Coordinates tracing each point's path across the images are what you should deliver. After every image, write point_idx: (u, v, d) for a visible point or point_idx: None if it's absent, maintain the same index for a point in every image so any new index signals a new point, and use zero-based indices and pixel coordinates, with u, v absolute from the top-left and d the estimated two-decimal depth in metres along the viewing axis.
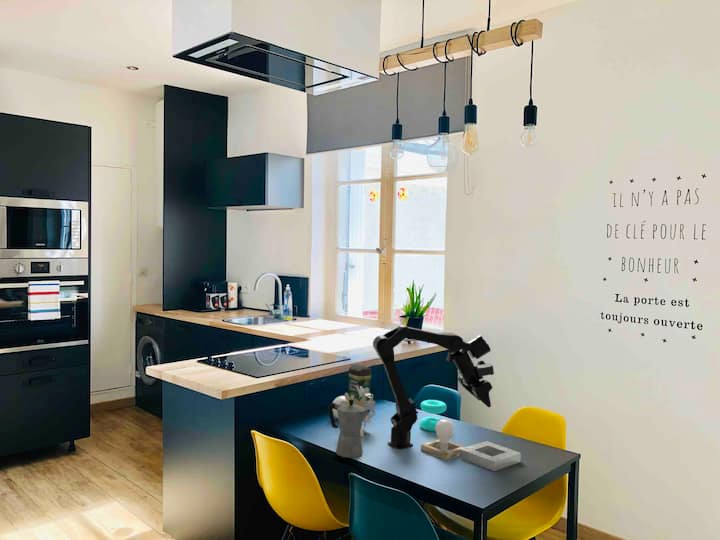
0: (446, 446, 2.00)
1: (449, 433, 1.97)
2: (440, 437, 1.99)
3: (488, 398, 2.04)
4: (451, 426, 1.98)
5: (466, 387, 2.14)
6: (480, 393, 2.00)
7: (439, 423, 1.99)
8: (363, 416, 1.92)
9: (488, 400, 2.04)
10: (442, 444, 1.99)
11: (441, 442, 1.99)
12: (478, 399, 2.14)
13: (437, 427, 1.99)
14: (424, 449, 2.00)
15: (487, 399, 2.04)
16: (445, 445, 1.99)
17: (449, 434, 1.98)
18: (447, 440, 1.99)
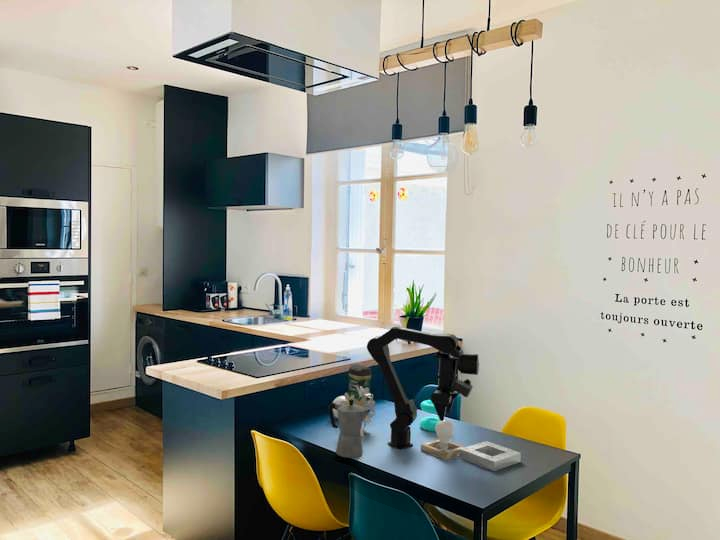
0: (446, 446, 2.00)
1: (449, 433, 1.97)
2: (440, 437, 1.99)
3: (443, 411, 1.94)
4: (451, 426, 1.98)
5: None
6: (434, 399, 1.92)
7: (439, 423, 1.99)
8: (363, 416, 1.92)
9: (442, 413, 1.95)
10: (442, 444, 1.99)
11: (441, 442, 1.99)
12: (446, 412, 2.04)
13: (437, 427, 1.99)
14: (424, 449, 2.00)
15: (442, 412, 1.95)
16: (445, 445, 1.99)
17: (449, 434, 1.98)
18: (447, 440, 1.99)
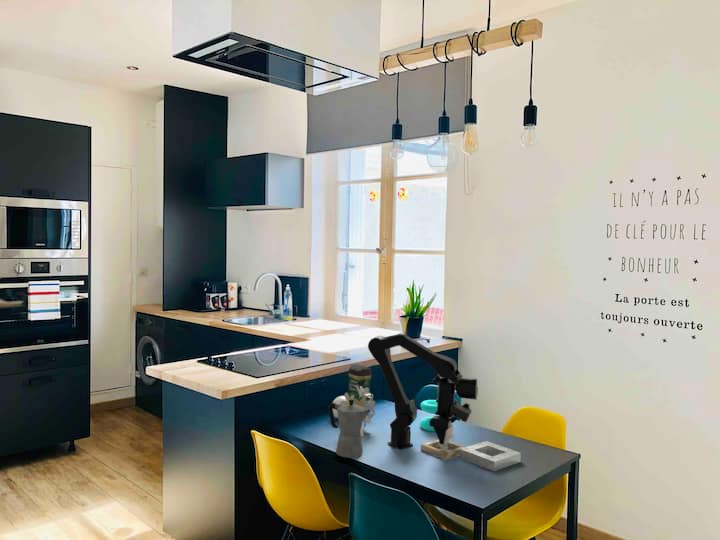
0: (446, 446, 2.00)
1: (449, 433, 1.97)
2: None
3: (443, 435, 1.96)
4: (451, 426, 1.98)
5: None
6: (433, 424, 1.92)
7: None
8: (363, 416, 1.92)
9: (442, 437, 1.96)
10: (442, 444, 1.99)
11: None
12: None
13: None
14: (424, 449, 2.00)
15: (442, 435, 1.96)
16: (445, 445, 1.99)
17: (449, 434, 1.98)
18: (447, 440, 1.99)
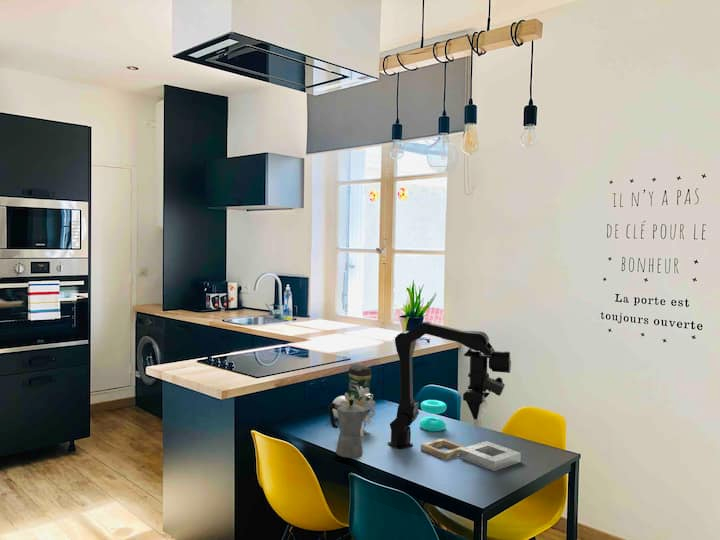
0: (479, 421, 1.95)
1: (482, 407, 1.93)
2: None
3: (477, 410, 1.92)
4: (484, 401, 1.94)
5: None
6: (466, 399, 1.88)
7: None
8: (363, 416, 1.92)
9: (476, 412, 1.92)
10: (475, 419, 1.95)
11: None
12: None
13: None
14: (424, 449, 2.00)
15: (475, 410, 1.92)
16: (478, 420, 1.95)
17: (482, 409, 1.93)
18: (480, 415, 1.94)
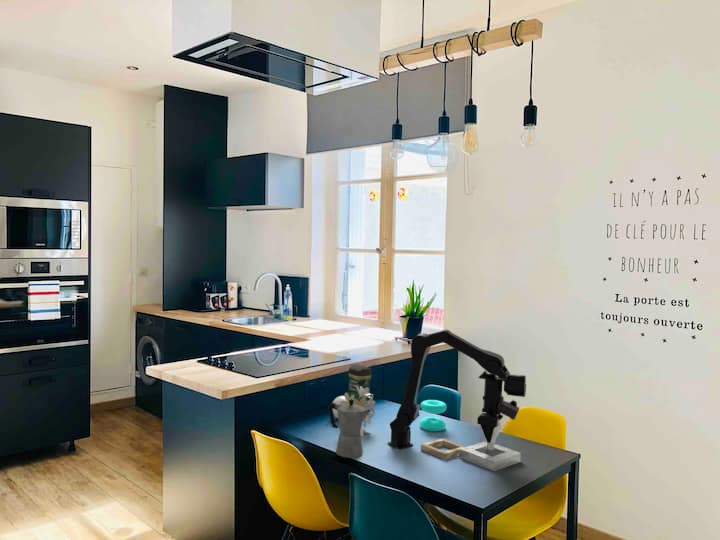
0: (493, 444, 1.93)
1: (496, 431, 1.91)
2: None
3: (490, 433, 1.90)
4: None
5: None
6: (481, 422, 1.86)
7: None
8: (363, 416, 1.92)
9: (490, 435, 1.90)
10: None
11: None
12: None
13: None
14: (424, 449, 2.00)
15: (489, 433, 1.90)
16: (492, 443, 1.93)
17: (496, 432, 1.91)
18: (494, 438, 1.93)
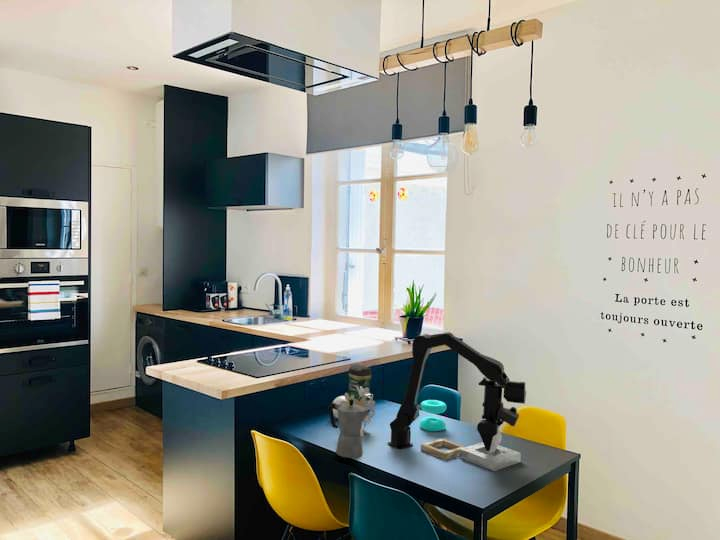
0: (493, 454, 1.93)
1: (497, 441, 1.91)
2: None
3: (490, 441, 1.89)
4: (499, 434, 1.92)
5: None
6: (481, 429, 1.86)
7: None
8: (363, 416, 1.92)
9: (489, 443, 1.89)
10: (489, 452, 1.93)
11: None
12: None
13: None
14: (424, 449, 2.00)
15: (488, 442, 1.89)
16: (492, 453, 1.93)
17: (497, 442, 1.91)
18: (494, 448, 1.93)
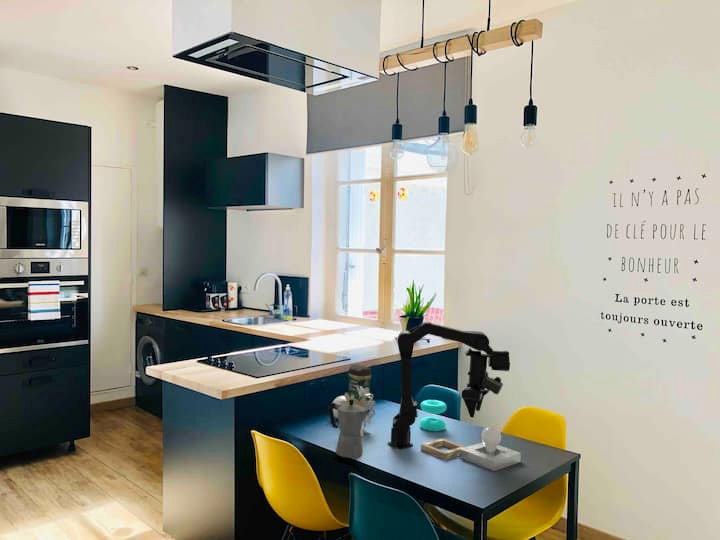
0: (493, 454, 1.93)
1: (496, 440, 1.91)
2: (487, 445, 1.93)
3: (473, 408, 1.97)
4: (498, 434, 1.92)
5: None
6: (465, 396, 1.95)
7: (486, 430, 1.93)
8: (363, 416, 1.92)
9: (473, 410, 1.97)
10: (489, 452, 1.93)
11: (488, 450, 1.93)
12: (476, 409, 2.07)
13: (484, 435, 1.93)
14: (424, 449, 2.00)
15: (472, 408, 1.97)
16: (492, 453, 1.93)
17: (496, 442, 1.91)
18: (494, 448, 1.93)
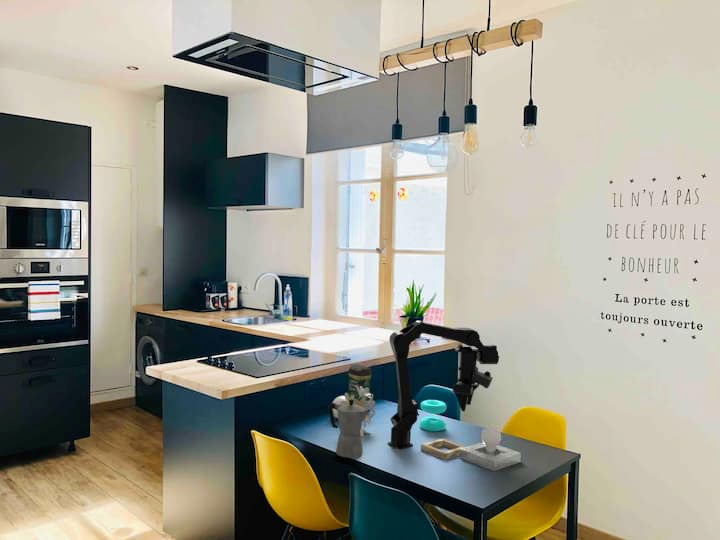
0: (493, 454, 1.93)
1: (496, 441, 1.91)
2: (487, 445, 1.93)
3: (465, 402, 2.03)
4: (498, 434, 1.92)
5: None
6: (456, 390, 2.00)
7: (486, 431, 1.93)
8: (363, 416, 1.92)
9: (464, 404, 2.03)
10: (489, 452, 1.93)
11: (488, 450, 1.93)
12: (467, 403, 2.13)
13: (484, 435, 1.93)
14: (424, 449, 2.00)
15: (463, 402, 2.03)
16: (492, 453, 1.93)
17: (496, 442, 1.91)
18: (494, 448, 1.93)
